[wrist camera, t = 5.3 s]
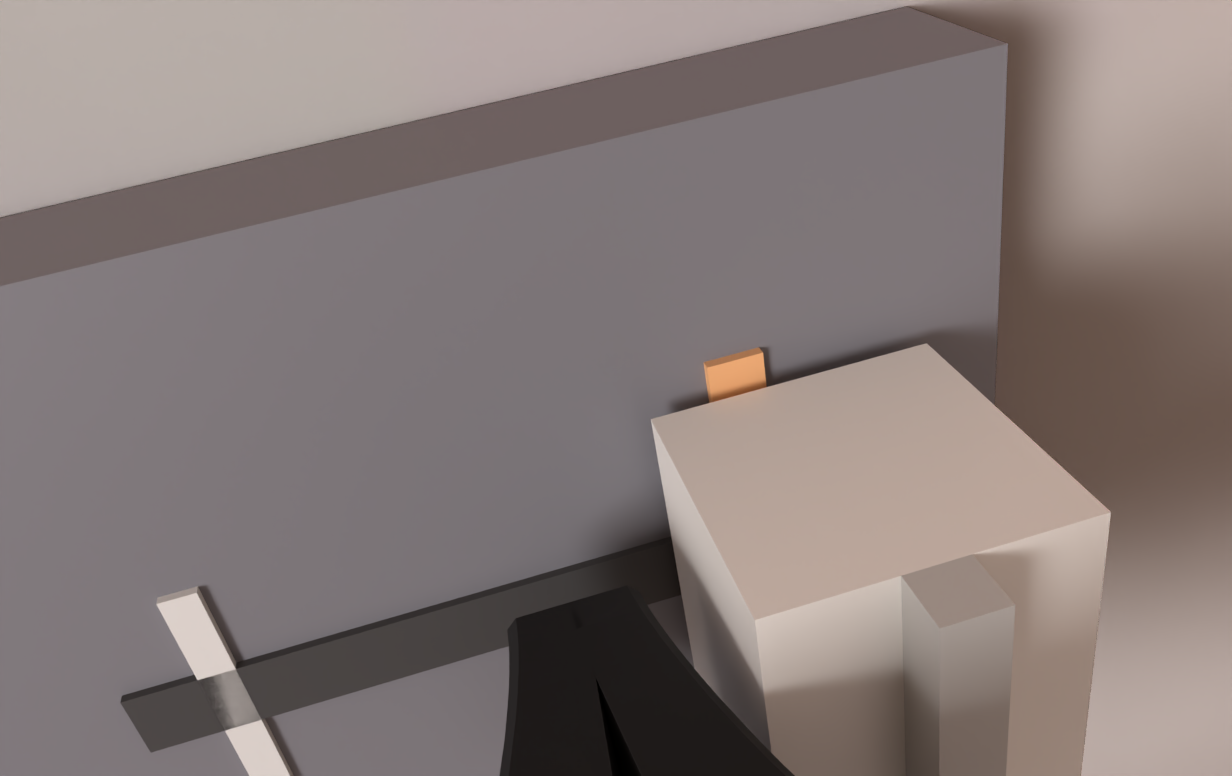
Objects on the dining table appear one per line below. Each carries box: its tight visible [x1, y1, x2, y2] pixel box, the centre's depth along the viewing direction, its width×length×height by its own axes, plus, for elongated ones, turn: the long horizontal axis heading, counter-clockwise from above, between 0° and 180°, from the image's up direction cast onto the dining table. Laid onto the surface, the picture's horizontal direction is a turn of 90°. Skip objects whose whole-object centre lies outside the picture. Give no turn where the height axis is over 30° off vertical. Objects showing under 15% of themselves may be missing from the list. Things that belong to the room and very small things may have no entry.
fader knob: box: [651, 343, 1111, 776], centre depth 10 cm, size 3×4×4 cm
